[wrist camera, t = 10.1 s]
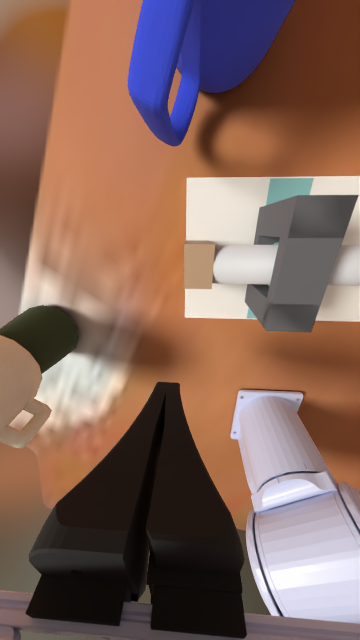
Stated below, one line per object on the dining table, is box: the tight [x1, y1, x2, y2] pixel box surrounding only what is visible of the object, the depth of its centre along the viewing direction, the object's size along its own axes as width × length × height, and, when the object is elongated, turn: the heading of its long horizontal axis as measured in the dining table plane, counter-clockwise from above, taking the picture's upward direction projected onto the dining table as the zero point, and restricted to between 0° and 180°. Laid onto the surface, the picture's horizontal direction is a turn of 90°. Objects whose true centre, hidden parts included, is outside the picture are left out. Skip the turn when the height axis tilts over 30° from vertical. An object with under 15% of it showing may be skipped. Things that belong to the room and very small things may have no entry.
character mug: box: [0, 305, 78, 448], centre depth 16 cm, size 11×7×13 cm, turn 51°
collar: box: [245, 195, 359, 332], centre depth 14 cm, size 8×3×6 cm, turn 0°
